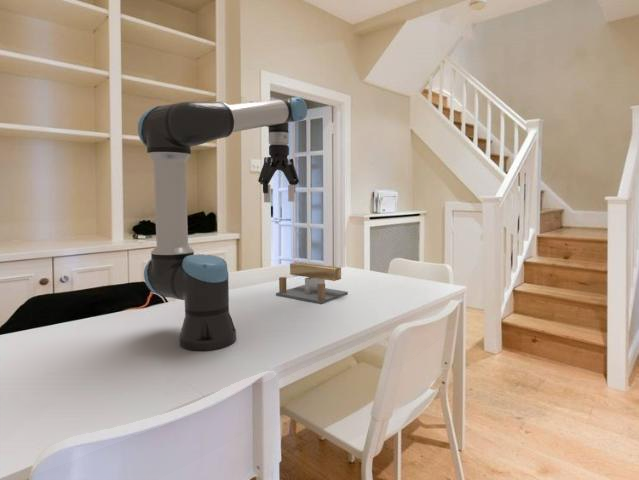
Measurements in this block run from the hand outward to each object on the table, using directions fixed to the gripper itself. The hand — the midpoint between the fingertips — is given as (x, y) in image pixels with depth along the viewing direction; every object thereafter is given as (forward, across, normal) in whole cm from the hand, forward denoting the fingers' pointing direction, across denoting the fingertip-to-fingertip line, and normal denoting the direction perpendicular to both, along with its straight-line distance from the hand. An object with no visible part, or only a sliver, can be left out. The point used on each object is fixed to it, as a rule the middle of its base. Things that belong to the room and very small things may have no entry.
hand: (279, 202), depth 160 cm
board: (+37, +9, -8) cm, 39 cm away
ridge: (+37, +11, -8) cm, 39 cm away
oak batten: (+30, +11, -8) cm, 33 cm away
